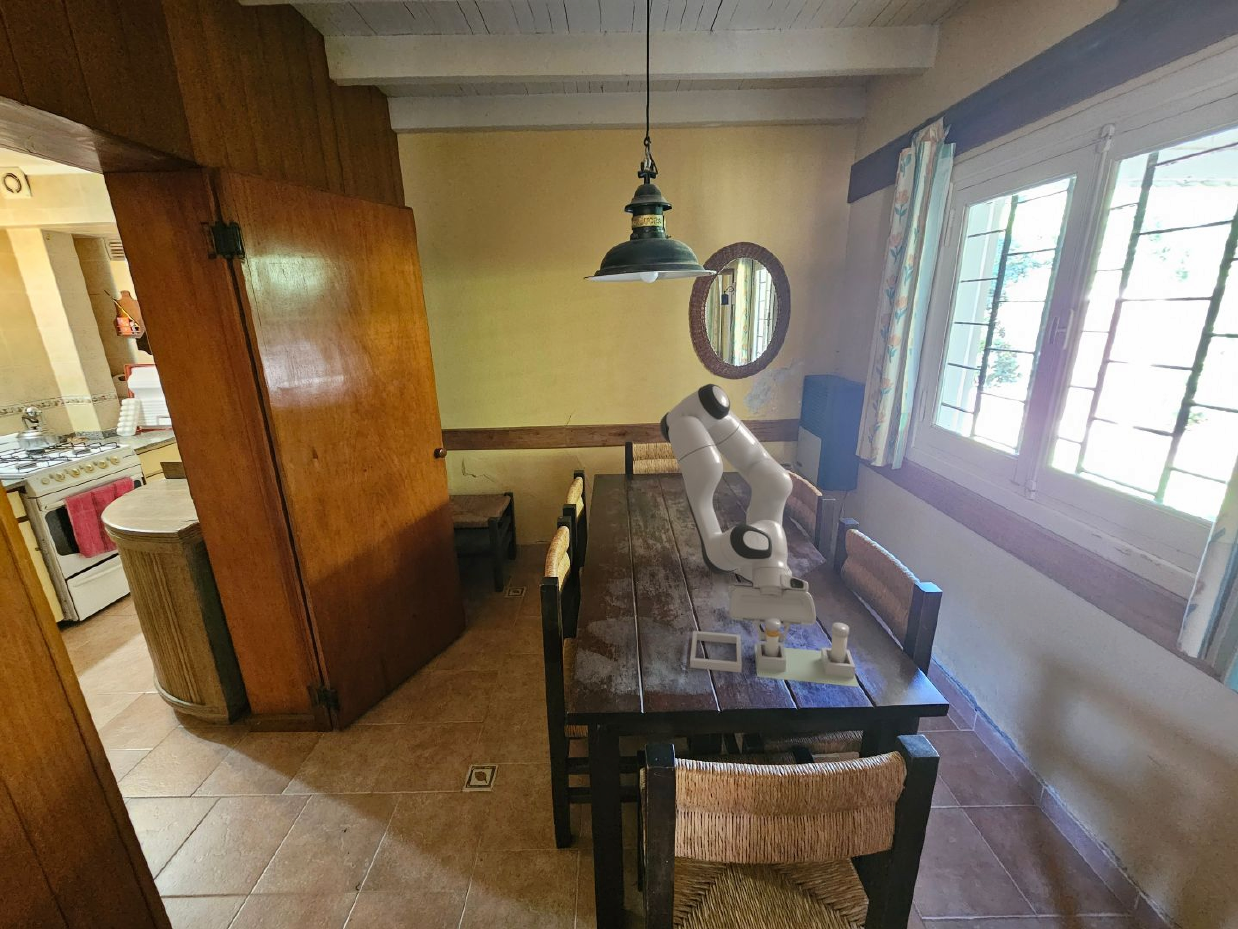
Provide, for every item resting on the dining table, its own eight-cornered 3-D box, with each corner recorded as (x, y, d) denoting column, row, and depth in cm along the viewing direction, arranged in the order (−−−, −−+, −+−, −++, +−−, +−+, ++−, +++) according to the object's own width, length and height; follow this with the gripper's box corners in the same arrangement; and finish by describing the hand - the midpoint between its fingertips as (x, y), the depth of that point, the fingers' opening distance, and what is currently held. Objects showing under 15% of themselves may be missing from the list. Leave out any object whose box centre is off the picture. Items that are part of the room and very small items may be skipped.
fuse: (827, 662, 121) (830, 622, 118) (843, 663, 120) (847, 623, 117) (830, 672, 118) (833, 631, 115) (846, 673, 117) (850, 632, 114)
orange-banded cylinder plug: (762, 656, 124) (764, 616, 121) (777, 657, 123) (779, 617, 120) (763, 665, 121) (765, 625, 118) (779, 666, 120) (781, 626, 117)
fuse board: (754, 648, 129) (754, 634, 128) (846, 656, 124) (848, 642, 123) (757, 680, 117) (757, 665, 116) (858, 690, 113) (860, 675, 112)
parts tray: (693, 640, 133) (693, 630, 132) (740, 645, 130) (740, 634, 129) (690, 671, 121) (690, 660, 121) (741, 676, 119) (741, 665, 118)
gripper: (728, 577, 126) (727, 635, 119) (815, 583, 122) (819, 642, 115) (727, 584, 131) (727, 640, 125) (810, 590, 127) (814, 647, 120)
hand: (772, 641), depth 120 cm, fingers closed on orange-banded cylinder plug, 3 cm apart
